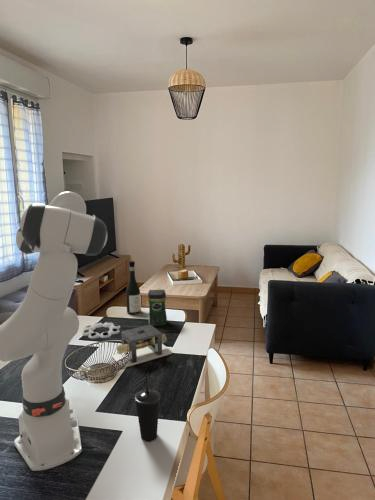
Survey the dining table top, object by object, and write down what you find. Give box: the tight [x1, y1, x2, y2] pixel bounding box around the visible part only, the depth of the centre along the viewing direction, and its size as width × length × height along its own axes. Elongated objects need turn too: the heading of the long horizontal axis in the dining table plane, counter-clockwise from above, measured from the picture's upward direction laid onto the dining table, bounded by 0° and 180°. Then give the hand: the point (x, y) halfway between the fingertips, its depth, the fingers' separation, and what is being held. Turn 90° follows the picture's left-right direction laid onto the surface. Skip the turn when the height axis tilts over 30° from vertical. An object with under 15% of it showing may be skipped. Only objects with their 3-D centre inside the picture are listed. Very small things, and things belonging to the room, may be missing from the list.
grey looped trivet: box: [81, 321, 121, 340], centre depth 192 cm, size 20×20×2 cm
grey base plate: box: [111, 343, 173, 369], centre depth 165 cm, size 24×11×1 cm, turn 122°
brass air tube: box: [116, 333, 168, 355], centre depth 164 cm, size 22×4×4 cm, turn 122°
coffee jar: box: [147, 289, 168, 327], centre depth 198 cm, size 10×8×19 cm
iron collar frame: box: [121, 324, 163, 363], centre depth 164 cm, size 14×11×10 cm
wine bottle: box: [125, 260, 142, 315], centre depth 213 cm, size 8×8×30 cm
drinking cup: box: [134, 375, 161, 443], centre depth 113 cm, size 8×8×20 cm
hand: (56, 288), depth 149 cm, fingers closed
